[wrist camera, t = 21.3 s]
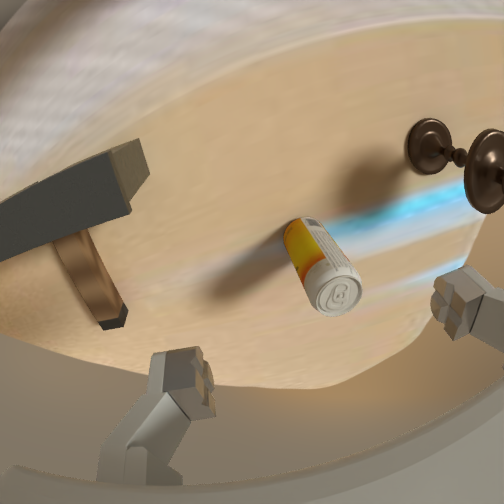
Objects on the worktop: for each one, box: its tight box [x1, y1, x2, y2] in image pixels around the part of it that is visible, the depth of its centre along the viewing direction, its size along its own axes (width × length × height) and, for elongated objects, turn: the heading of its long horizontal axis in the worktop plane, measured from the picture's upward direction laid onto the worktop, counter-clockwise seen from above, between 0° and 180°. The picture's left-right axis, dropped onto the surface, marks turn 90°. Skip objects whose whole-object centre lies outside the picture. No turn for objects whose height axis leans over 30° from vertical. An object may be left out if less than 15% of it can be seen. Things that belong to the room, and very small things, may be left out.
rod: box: [52, 229, 128, 331], centre depth 39 cm, size 20×4×4 cm, turn 12°
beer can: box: [283, 217, 363, 317], centre depth 36 cm, size 6×6×15 cm
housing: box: [0, 138, 150, 262], centre depth 29 cm, size 6×29×13 cm, turn 102°
